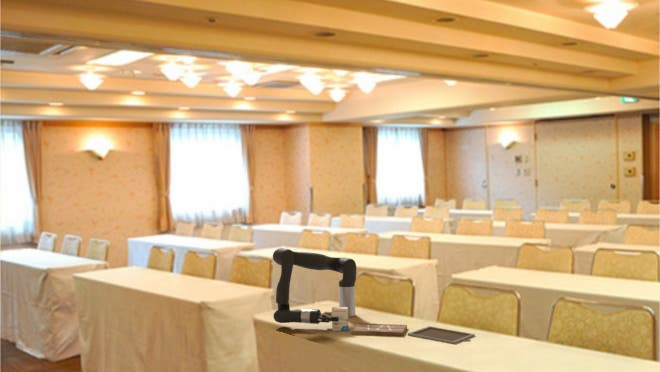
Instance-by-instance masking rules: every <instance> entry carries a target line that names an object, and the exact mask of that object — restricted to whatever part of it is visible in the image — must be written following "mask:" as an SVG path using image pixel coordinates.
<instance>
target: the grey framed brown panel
mask: <svg viewBox="0 0 660 372" xmlns="http://www.w3.org/2000/svg"><path fill="white" fill-rule="evenodd" d="M407 336H408V337H414V338H420V339H424V340H429V339H430V340H429V341H434V340H435V342H439V341H441V342H440V343H445V342H446V344H450V343H451V344H452V345H457V344H459V343H462V342H470V341H471V338H474V337H476V335H475V333H469V332H464V331H459V330H452V329H447V328H442V327H435V326H426V327H423V328H420V329H417V330H413V331H411V332H408V333H407ZM456 343H457V344H456Z"/></svg>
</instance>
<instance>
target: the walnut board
mask: <svg viewBox="0 0 660 372" xmlns="http://www.w3.org/2000/svg"><path fill="white" fill-rule="evenodd" d="M407 330H408V325H407V324H394V323H393V324H391V323H369V322H368V323H366V322H364V323H363V322H358V323H357V324H356V325H355V326H354V327H353V329H352V330H351V334H352V335H362V336H382V337H383V336H387V337H404V335H405V333H406V332H407Z"/></svg>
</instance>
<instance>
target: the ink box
mask: <svg viewBox="0 0 660 372" xmlns="http://www.w3.org/2000/svg"><path fill="white" fill-rule="evenodd" d="M331 312H332V317H338V318H339V321H338V322H335V321H331V328H332V329H331V330H332V331H333V332H341V331H342V332H345V331H348V332H349V329H350V327H349V326H350V325H349V324H350V323H349V317H348V307H339V306H334V307H333V306H332V307H331Z"/></svg>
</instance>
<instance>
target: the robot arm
mask: <svg viewBox="0 0 660 372" xmlns="http://www.w3.org/2000/svg"><path fill="white" fill-rule="evenodd" d="M272 260H273V261H274V262H275V263H276V264H277V265H279V266H280V268H281V271H280V273H281V274H280V277H279V280H278V283H277V286H276V289H275V290H276V291H275V303H276V304H277V310H276V311H274V312H273V320H274V321H275V322H277V323H278V324H287V323H297V324H298V323H299V324H307V325H308V324H311V325H312V324H313V325H315V324H316V325H319V324H320V323H326V324H328V323H332V321H335V322H338V321H339V318H338V317H332V311H324V312H323V313H322V311H321V310H320V309H311V308H310V309H309V308H306V309H299V308H297V309H290V302H289V301H290V285H291V280H292V273H293V268H294V266H297V267H301V268H303V269H304V268H305V269H308V270H313V271H314V270H315V271H328V270H329V271H333V272H336V273H340V274H342V279H340V280H339V281H338V302H339V303H338V307H348V318H350V317H351V318H353V317H355V316H356V288H355V287H356V281H357V264H356V261H355V259H353V258H349V257H334V256H328V255H326V254H323V253H316V252H311V251H310V252H308V251H307V252H305V251H293V250H291V249H290V248H284V247H280V248H277V249H276V250H274V252H272Z"/></svg>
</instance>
